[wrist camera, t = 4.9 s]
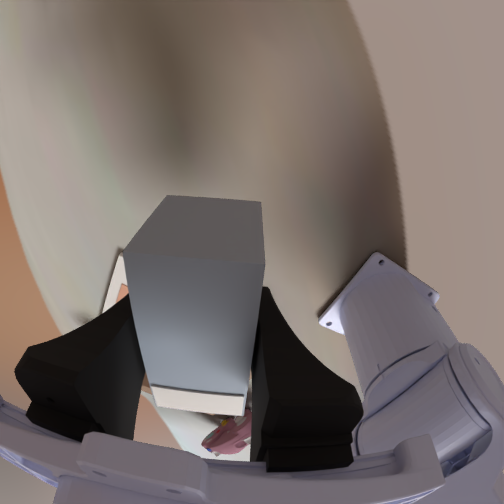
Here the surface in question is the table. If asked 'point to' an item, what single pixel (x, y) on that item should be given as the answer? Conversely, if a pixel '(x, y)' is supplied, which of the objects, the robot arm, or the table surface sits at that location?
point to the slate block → (197, 300)
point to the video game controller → (230, 435)
